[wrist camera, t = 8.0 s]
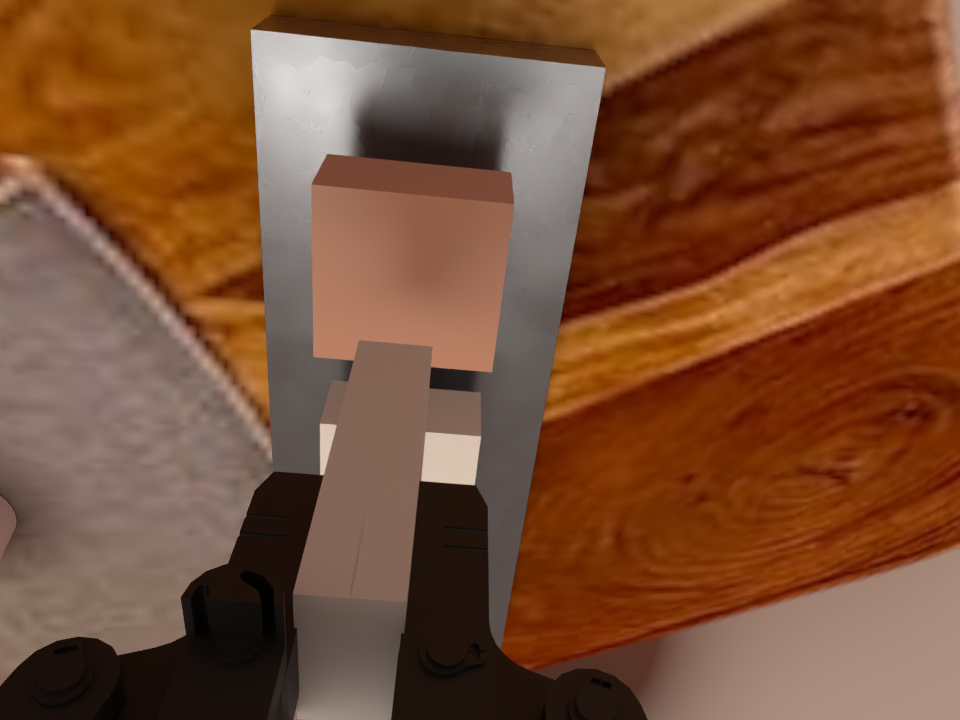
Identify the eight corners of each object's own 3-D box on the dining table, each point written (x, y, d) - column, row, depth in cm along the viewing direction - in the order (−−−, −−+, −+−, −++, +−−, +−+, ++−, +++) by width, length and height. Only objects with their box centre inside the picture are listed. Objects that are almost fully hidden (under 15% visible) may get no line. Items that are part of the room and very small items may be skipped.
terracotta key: (341, 127, 23) (311, 184, 19) (508, 143, 23) (514, 204, 19) (340, 277, 26) (313, 357, 22) (489, 290, 26) (492, 372, 22)
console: (271, 14, 24) (250, 29, 22) (594, 50, 24) (606, 67, 22) (292, 595, 38) (281, 638, 35) (498, 609, 38) (499, 653, 36)
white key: (343, 340, 28) (319, 423, 24) (480, 352, 29) (480, 436, 24) (342, 447, 31) (320, 539, 27) (467, 457, 31) (466, 550, 27)
